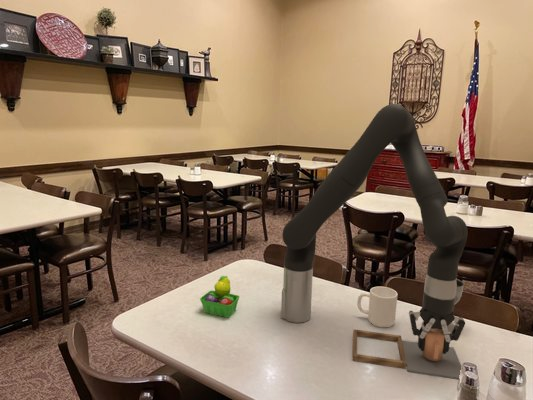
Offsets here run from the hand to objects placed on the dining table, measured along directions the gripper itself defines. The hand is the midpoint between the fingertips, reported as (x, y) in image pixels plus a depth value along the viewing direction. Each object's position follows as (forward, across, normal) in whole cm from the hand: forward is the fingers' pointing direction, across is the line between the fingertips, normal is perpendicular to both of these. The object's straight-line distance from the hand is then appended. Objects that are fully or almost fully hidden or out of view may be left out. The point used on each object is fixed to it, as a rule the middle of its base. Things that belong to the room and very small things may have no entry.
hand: (432, 350), depth 104 cm
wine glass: (+3, -7, -20) cm, 21 cm away
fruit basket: (+3, +64, -11) cm, 65 cm away
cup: (+3, +14, -18) cm, 23 cm away
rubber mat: (+3, 0, 0) cm, 3 cm away
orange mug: (+1, 0, 0) cm, 1 cm away
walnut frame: (+3, +14, -1) cm, 14 cm away
